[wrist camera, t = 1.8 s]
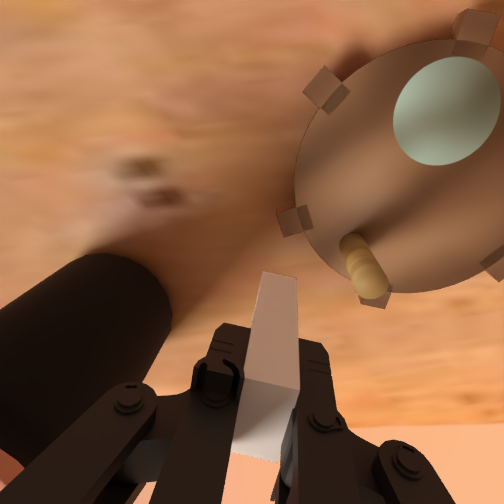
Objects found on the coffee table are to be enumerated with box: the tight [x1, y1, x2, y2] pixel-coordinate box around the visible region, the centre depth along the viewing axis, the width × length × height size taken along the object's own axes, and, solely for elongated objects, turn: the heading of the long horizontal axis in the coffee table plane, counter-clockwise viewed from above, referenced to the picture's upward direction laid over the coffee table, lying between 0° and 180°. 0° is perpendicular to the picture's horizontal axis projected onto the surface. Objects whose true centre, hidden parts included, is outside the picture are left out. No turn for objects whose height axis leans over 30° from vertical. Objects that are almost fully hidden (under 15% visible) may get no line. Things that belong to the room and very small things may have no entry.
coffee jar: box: [0, 254, 172, 491], centre depth 23 cm, size 11×11×18 cm
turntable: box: [276, 9, 504, 309], centre depth 20 cm, size 19×17×7 cm
